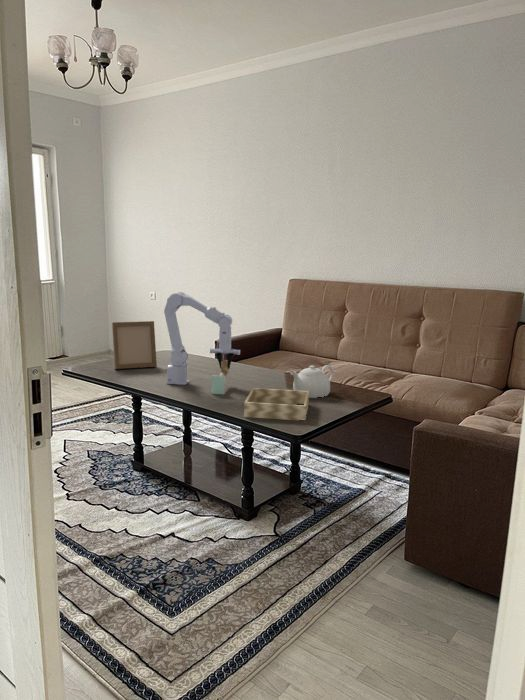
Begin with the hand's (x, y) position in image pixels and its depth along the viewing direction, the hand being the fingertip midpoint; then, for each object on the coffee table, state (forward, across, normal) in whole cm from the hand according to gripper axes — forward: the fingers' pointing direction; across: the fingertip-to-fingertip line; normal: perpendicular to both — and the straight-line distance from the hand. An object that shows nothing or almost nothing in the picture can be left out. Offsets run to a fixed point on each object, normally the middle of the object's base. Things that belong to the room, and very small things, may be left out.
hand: (224, 368), depth 262 cm
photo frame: (+9, -56, +29) cm, 64 cm away
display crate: (+8, +29, -35) cm, 47 cm away
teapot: (+9, +42, -6) cm, 44 cm away
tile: (+8, 0, -15) cm, 17 cm away
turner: (+2, 0, -5) cm, 6 cm away
